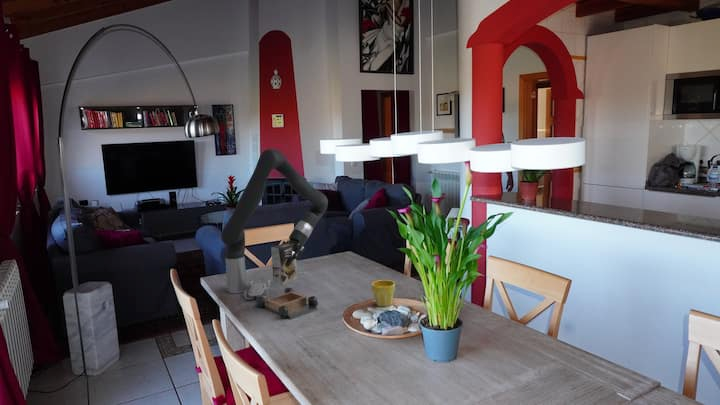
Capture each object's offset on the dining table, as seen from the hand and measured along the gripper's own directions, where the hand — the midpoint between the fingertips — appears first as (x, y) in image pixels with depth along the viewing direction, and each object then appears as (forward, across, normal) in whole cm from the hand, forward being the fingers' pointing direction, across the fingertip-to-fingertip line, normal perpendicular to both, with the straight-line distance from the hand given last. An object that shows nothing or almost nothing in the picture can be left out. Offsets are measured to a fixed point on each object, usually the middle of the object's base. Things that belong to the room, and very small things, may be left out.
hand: (281, 264), depth 219 cm
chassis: (+13, 0, +15) cm, 20 cm away
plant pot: (-8, +30, +38) cm, 49 cm away
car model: (+12, -27, +17) cm, 34 cm away
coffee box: (+5, 0, +7) cm, 8 cm away
